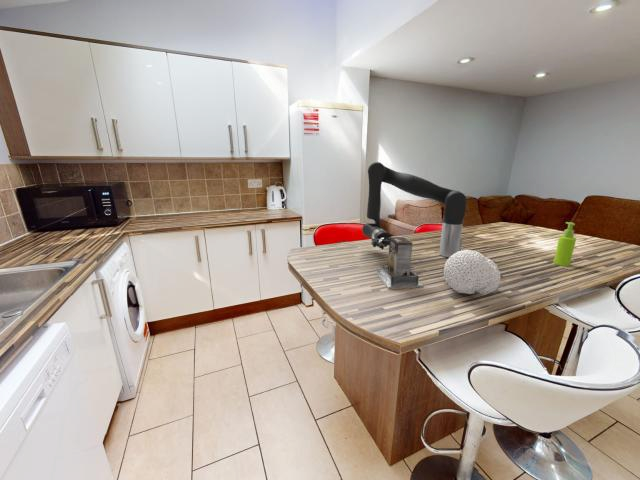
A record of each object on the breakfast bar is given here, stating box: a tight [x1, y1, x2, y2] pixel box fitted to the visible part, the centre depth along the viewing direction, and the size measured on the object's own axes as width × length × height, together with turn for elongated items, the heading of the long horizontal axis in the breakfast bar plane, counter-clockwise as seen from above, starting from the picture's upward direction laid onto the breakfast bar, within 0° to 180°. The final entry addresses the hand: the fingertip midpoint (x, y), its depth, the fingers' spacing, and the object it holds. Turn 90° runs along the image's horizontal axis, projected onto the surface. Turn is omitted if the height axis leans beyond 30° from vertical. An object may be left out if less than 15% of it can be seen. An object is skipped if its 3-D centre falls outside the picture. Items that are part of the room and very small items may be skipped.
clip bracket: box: [375, 265, 424, 290], centre depth 113 cm, size 14×17×4 cm
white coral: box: [443, 249, 502, 296], centre depth 102 cm, size 20×18×16 cm
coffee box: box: [387, 236, 413, 277], centre depth 111 cm, size 9×6×16 cm
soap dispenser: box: [553, 221, 577, 267], centre depth 127 cm, size 6×7×20 cm
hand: (392, 246), depth 119 cm, fingers open, 8 cm apart
